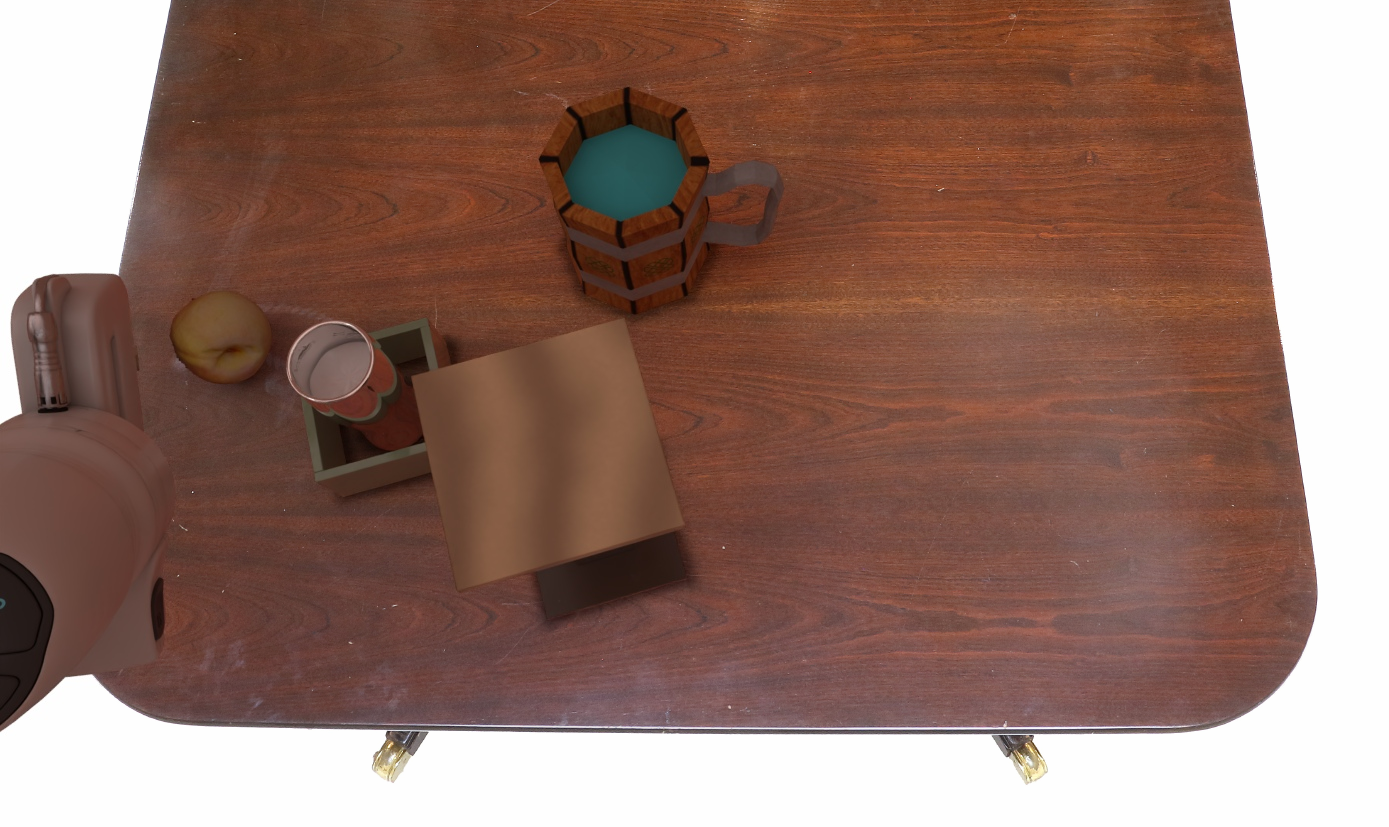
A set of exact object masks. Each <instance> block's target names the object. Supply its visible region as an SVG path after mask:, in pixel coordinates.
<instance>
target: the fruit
mask: <svg viewBox="0 0 1389 827" xmlns="http://www.w3.org/2000/svg"><path fill="white" fill-rule="evenodd" d="M169 330H170V331H169V339H170V341H171V343H172V344H171V345H172V347H173V350H174V353H175V356H176V359H177V360H178V362H180V363H181V364H183V365H184V366H185V367H184V368H185V369H187V370H189V371H190V372H191V373H192V374H193V375H195V376H196V377H198V378H199V379H202V380H203V381H206V382H207V383H210V384H211V383H212V384H215V385H234V384H238V383H241V382H243V381H245V380H247V379H249V378H251V377H253V376H254V375H255V374H256V373H258V371H259V370H260V369H261V368H262V366H263V365H264V363H265V361H266V359H267V357H268V355H269V352H270V350H271V346H272V330H271V324H270V322H269V319H268V317H267V316H266V314H265V312H264V310H263V309H262V308H261V307H260V306H259V305H258V304H257V303H256V301H255V302H254V300H252V299H251V298H249V297H247V296H245V295H244V294H241V293H240V292H239V293H238V292H235V291H230V290H214V291H210V292H207V293H204V294H202V295H200V296H198V297H192V298H191V300H190V301H189V302H188V303H187V304H186V305H184V306H183V307H182V308H180V309H179V311H177V313H176V314H175V315H174V317H173V318H172V321H171V325H170V329H169Z"/></svg>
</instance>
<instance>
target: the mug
mask: <svg viewBox="0 0 1389 827" xmlns="http://www.w3.org/2000/svg"><path fill="white" fill-rule="evenodd" d="M538 163H539V165H540V168H541V170H542V172H543V176H544V177H545V180H546V183H547V186H548V187H549V191H550V193H551V196H552V201H553V207H554V210H555V214H556V215H557V218H558V221H559V223H560V226H561V229H562V232H563V234H564V237H565V247H566V249H567V252H568V256H569V258H570V260H571V263H572V266H573V268H574V271H575V274H576V276H577V278H578V281H579V284H580V287H581V289H582V293H583V294H584V295H586V296H588V297H591V298H593V299H596V300H599V301H600V302H603V303H606V304H608V305H610V306H613V307H614V308H615V307H616V308H618V309H620V310H623V311H625V312H627V313H630V314H632V315H638V314H641V313H643V312H646V311H649V310H652V309H654V308H657V307H660V306H663V305H666V304H668V303H671V302H674V301H677V300H679V299H682V298H686V297H687V296H688V295H689V293H690V291H691V289H692V288H693V285H694V283H695V281H696V279H697V277H698V275H699V272H700V271H701V268H702V266H703V265H704V263H705V260H706V258H707V256H708V254H709V252H710V250H711V248H710V244H719V245H729V246H735V247H741V248H745V247H751V246H757V245H760V244H762V243H763V242H764V241H766V240H767V239H768V238H769V237H770V236H772V234H773V231H774V228H775V224H776V221H777V216H778V211H779V207H780V205H781V202H782V199H783V196H784V192H785V185H784V180H783V177H782V176H781V174H780V172H779V170H778V168H777V166H776V165H775V164H772V163H768V162H764V161H760V160H756V159H752V160H747V161H743V162H738V163H735V164H734V165H731V166H730V167H728V168H726V169H724V170H722V171H719V172H709V167H710V164H711V161H710V158H709V155H708V154H707V151H706V149H705V147H704V144H703V142H702V140H701V138H700V136H699V133H698V131H697V129H696V127H695V124H694V122H693V119H692V117H691V115H690V112H689V110H688V109H687V108H686V107H683V106H681V105H678V104H676V103H672V102H670V101H667V100H665V99H662V98H659V97H657V96H654V95H652V94H648V93H646V92H643V91H641V90H638V89H635V88H632V87H631V86H626V87H623V88H620V89H617V90H614V91H611V92H607V93H605V94H602V95H598V96H596V97H593V98H590V99H588V100H587V99H586V100H583V101H581V102H579V103H575V104H573V105H569V106H567V107H566V108H565V111H564V112H563V114H562V116H561V118H560V120H559V121H558V123H557V125H556V127H555V128H554V130H553V132H552V134H551V136H550V137H549V138H548V140H547V143H546V144H545V147H544V148H543V149H542V151H541V153H540V155H539V157H538ZM750 185H759V186H763V187H766V188H769V191H768V193H767V196H766V199H765V203H764V209H763V216H762V219H760V220H759V221H758V222H757V223H751V224H746V225H743V224H735V223H730V222H721V221H710V220H709V215H710V211H711V208H710V203H709V198H708V197H718V196H721V195H724V194H726V193H728V192H731V191H733V190H734V189H736V188H738V187H739V188H740V187H743V186H750Z"/></svg>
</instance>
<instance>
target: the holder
mask: <svg viewBox="0 0 1389 827" xmlns="http://www.w3.org/2000/svg"><path fill="white" fill-rule="evenodd" d="M366 333H367V334H369V335H370V336H371V337H372V338H374V339H375V340H376V341H377V342H379V343H380V344H381V345H382V346H383V347H384V348H385V349H386V350H387V351H388V353H389V354H390V355H391V356H392V357H393V359H394V360H395V362H396V364H397V365H399V364H402V363H405V362H410V361H413V360H416V359H420V358H423V357H425V358H426V361H427V366H428V371H432V370H435V369H439V368H443V367H446V366H450V365H452V362H451V356H450V352H449V348H448V345H447V341H446V340H445V339H444V338H443V336H442V335H441V334H440V332H439V331H438V329H437V328H436V327H435V325H434V324H433V323H432V321H431V320H430V319H429V318H428V317H427V316H425V317H423V318H419V319H415V320H412V321H408V322H404V323H401V324H397V325H394V326H389V327H386V328H383V329H378V330H373V331H371V332H366ZM299 395H300V394H299ZM300 401H301V406H302V412H303V418H304V424H305V428H306V435H307V441H308V445H309V446H308V447H309V453H310V458H311V464H312V470H313V475H314V482H315V483H316V484H318V485H320V486H321V487H323V488H326V489H327V490H329V491H331V492H333V493H335V494H337V495H339V496H340V497H342V498H345V497H349V496H353V495H356V494H360V493H362V492H367V491H370V490H374V489H377V488H381V487H385V486H388V485H392V484H394V483H398V482H402V481H405V480H410V479H413V478H416V477H419V476H423V475H426V474H432V473H431V468H430V464H429V459H428V454H427V450H426V445H425V441H424V442H420V443H416V444H412V445H411V446H409V447H406V448H403V449H399V450H391V451H388V452H385V453H381V454H377V455H374V456H371V457H370V456H369V457H367V458H363V459H360V460H356V461H353V462H349V463H347V460H346V454H345V450H344V444H343V438H342V433H341V428H340V424H339V423H336V422H334V421H332V420H330V419H329V418H327V417H326V416H324V415H322V414H321V413H320V412H318V411H317V410H316V409H315V408H314V407H312V406H311V405H310V404H309V403H308V402H307V401H306V400H305V399H304V398H303V397H302V396H301V395H300Z"/></svg>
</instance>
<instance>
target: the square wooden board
mask: <svg viewBox="0 0 1389 827" xmlns="http://www.w3.org/2000/svg"><path fill="white" fill-rule="evenodd" d="M410 379H411V383H412V388H414V393H415V398H416V403H417V407H418V412H419V417H420V421H421V426H422V431H423V435H422V436H423V439H424V442H425V445H426V450H427V454H428V459H429V464H430V468H431V473H430V474H431V477H432V482H433V487H434V490H435V496H436V501H437V505H438V511H439V514H440V519H441V524H442V529H443V534H444V538H445V543H446V548H447V553H448V558H449V562H450V566H451V572H452V576H453V581H454V586H455V590H456V592H458V593H460V594H465V593H467V592H470V591H474V590H478V589H481V588H484V587H487V586H488V587H489V586H491V585H495V584H498V583H501V582H506V581H509V580H512V579H515V578H519V577H522V576H526V575H529V574H533V573H536V571H540V570H543V569H547V568H550V567H553V566H557V565H560V564H564V563H567V562H571V561H574V560H577V559H581V558H584V557H588V556H591V555H595V554H598V553H601V552H605V551H608V550H612V549H615V548H619V547H622V546H625V545H629V544H632V543H636V542H639V541H643V540H646V539H649V538H653V537H656V536H660V535H663V534H667V533H670V532H674V533H675V532H677V531H680V530H684V529H686V523H685V519H684V516H683V512H682V509H681V506H680V502H679V499H678V495H677V491H676V489H675V485H674V481H673V478H672V474H671V470H670V467H669V464H668V462H667V461H668V460H667V457H666V454H665V451H664V450H665V449H664V447H663V444H662V439H661V437H660V433H659V429H658V426H657V422H656V419H655V416H654V412H653V409H652V406H651V401H650V399H649V395H648V392H647V388H646V384H645V381H644V378H643V374H642V371H641V367H640V364H639V361H638V356H637V354H636V350H635V347H634V344H633V340H632V337H631V333H630V329H629V326H628V323H627V319H626V317H621V318H617V319H614V320H611V321H607V322H602V323H599V324H596V325H592V326H588V327H584V328H580V329H578V330H577V329H576V330H574V331H571V332H566V333H562V334H559V335H555V336H552V337H548V338H545V339H541V340H537V341H533V342H530V343H527V344H522V345H519V346H516V347H513V348H508V349H505V350H501V351H497V352H494V353H491V354H487V355H482V356H479V357H476V358H472V359H469V360H464V361H462V362H458V363H454V364H451V365H450V366H446V367H443V368H439V369H435V370H432V371H429V370H428V371H425V372H421V373H418V374H414V375H411V377H410Z"/></svg>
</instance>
